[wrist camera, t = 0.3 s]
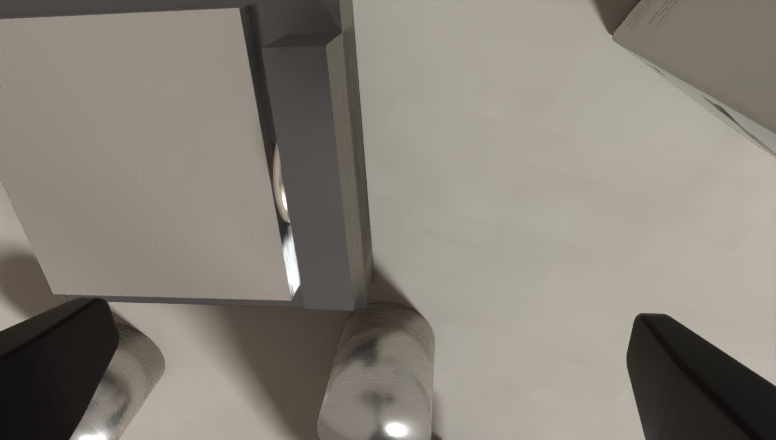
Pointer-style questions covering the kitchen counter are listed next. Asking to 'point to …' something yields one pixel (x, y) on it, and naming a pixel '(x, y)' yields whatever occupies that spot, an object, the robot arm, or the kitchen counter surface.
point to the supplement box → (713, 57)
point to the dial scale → (188, 150)
